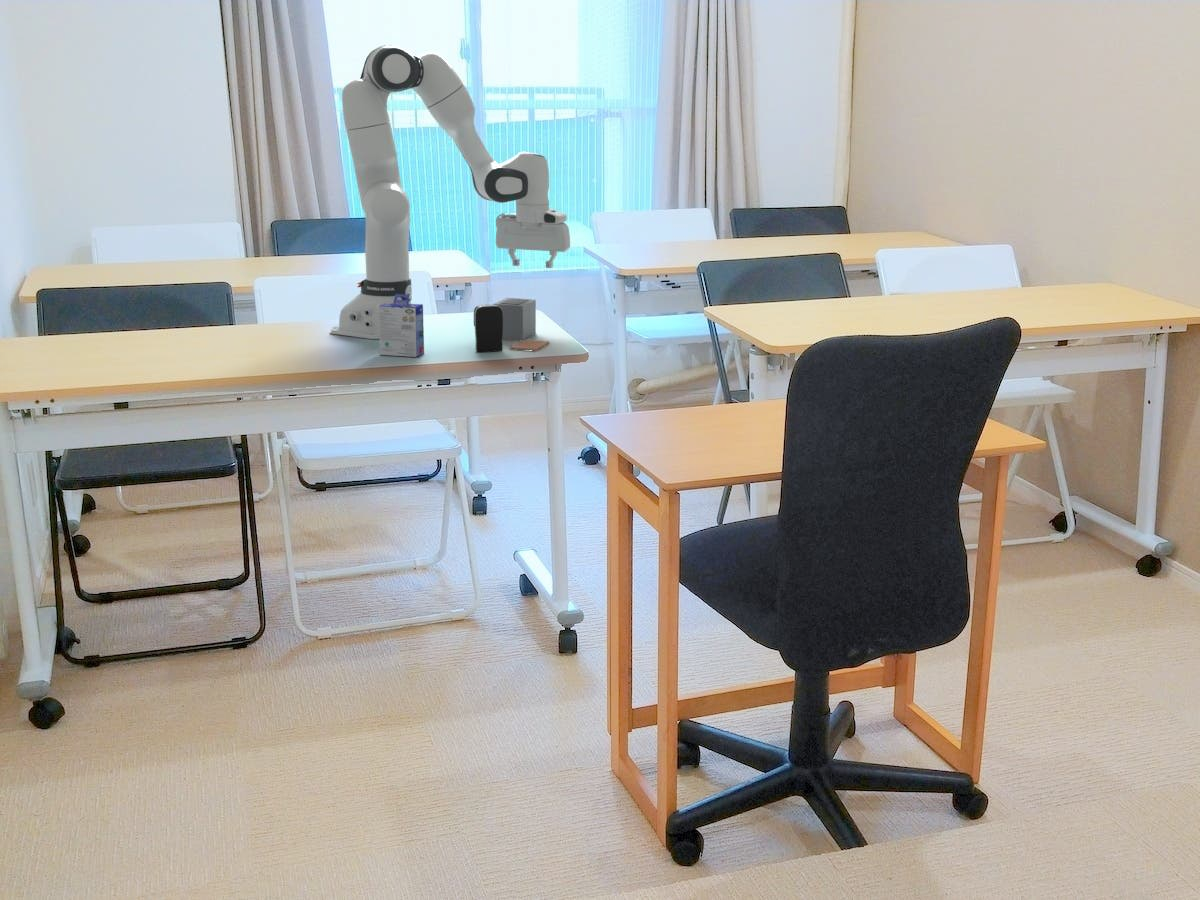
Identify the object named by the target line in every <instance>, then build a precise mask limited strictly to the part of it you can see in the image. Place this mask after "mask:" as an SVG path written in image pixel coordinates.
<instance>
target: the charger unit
mask: <svg viewBox="0 0 1200 900" xmlns="http://www.w3.org/2000/svg"><path fill="white" fill-rule="evenodd" d="M536 303H537V301H536V299H533V298H532V299H530V298H520V297H519V298H516V297H505V298H503V299H501V300H499V301H497V302H495V303H492V305H497V306H499V307H501V309H502V312H503V337H502V340H507V339H510V340H509V341H520V340H523V339H525V340H527V339H528V338H530V337H532V336H534V335H535V334H536V333H537V331H536V330H537V329H536V327H537V326H536V325H537V323H536V322H537V321H536V320H537V317H536V313H537V312H536V310H537V307H536V306H537V304H536ZM533 334H534V335H533ZM526 338H527V339H526Z"/></svg>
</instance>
